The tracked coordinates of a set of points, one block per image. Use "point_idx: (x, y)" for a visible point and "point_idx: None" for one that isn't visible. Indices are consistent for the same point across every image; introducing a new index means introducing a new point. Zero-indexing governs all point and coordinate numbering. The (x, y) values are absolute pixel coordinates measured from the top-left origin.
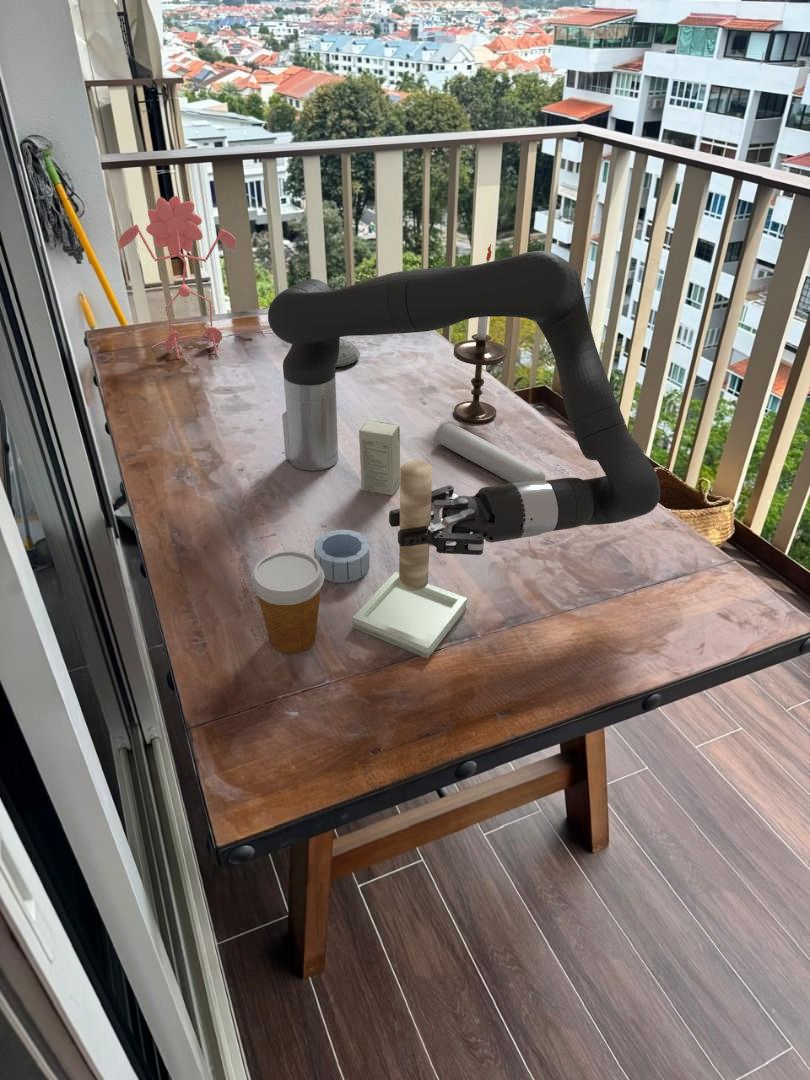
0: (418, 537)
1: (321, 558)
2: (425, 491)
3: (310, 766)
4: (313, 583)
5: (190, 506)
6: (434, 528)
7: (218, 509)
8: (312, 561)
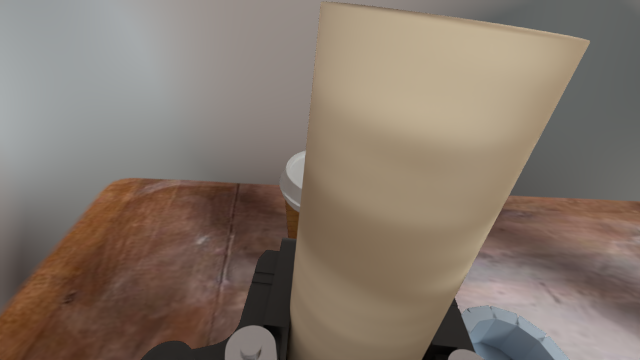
0: (248, 293)
1: (465, 310)
2: (311, 147)
3: (121, 235)
4: (294, 186)
5: (583, 231)
6: (242, 353)
7: (592, 253)
8: None
